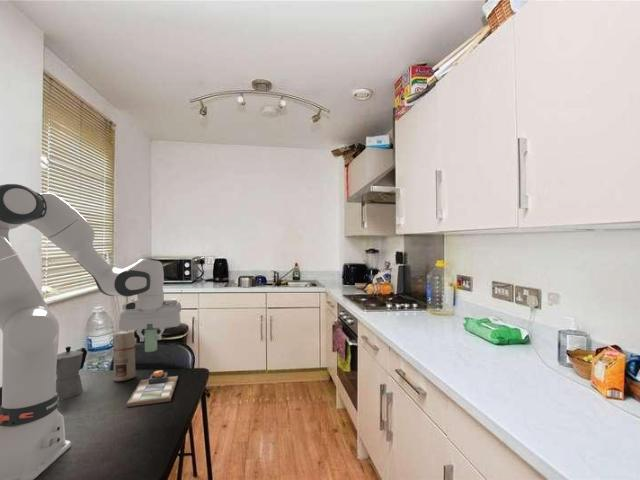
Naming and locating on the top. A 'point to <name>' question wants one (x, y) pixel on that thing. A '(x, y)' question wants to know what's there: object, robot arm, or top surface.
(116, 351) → the tan paper carton
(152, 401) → the checkered tray
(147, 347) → the green capped bottle
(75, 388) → the coffeepot
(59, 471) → the top surface
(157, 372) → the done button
